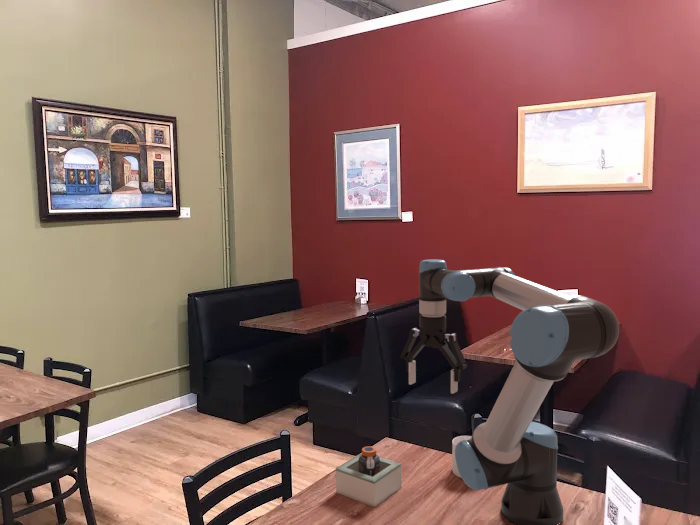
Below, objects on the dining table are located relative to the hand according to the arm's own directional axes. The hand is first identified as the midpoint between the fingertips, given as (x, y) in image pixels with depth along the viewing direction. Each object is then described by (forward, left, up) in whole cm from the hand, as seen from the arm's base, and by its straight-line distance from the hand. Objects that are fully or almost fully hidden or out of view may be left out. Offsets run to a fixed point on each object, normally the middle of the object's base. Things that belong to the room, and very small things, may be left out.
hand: (432, 387), depth 164 cm
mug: (-6, -10, -27) cm, 29 cm away
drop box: (+11, +17, -27) cm, 33 cm away
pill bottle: (+10, +17, -26) cm, 33 cm away
